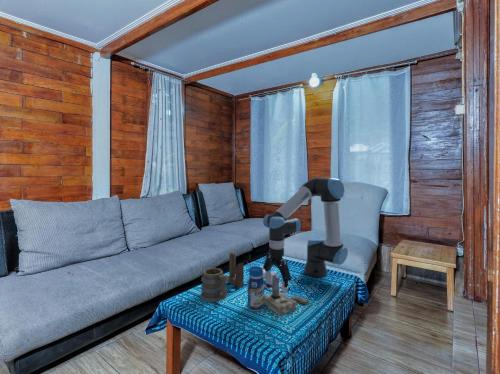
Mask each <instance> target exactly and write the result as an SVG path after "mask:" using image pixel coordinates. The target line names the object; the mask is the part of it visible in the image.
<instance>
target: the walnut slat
mask: <svg viewBox="0 0 500 374" xmlns="http://www.w3.org/2000/svg"><path fill="white" fill-rule="evenodd" d="M290 298H291V299H293V300H294V301H296V302H297V304H301V305H305V306H308V304H309V303H310V302H309V301H310V299H306V298H303V297H300V296H297V295H292V296H291V297H290Z"/></svg>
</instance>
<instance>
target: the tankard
mask: <svg viewBox="0 0 500 374" xmlns="http://www.w3.org/2000/svg"><path fill="white" fill-rule="evenodd" d="M228 276H229V275H225V274H224V271H223V270H222V269H221V268H217V267H210V268H205V269H204V270H203V272H202V276H201V282H202V285H201V292H200V295H199V298H200V299H201V300H203V301H204V302H205V303H208V302H209V303H216V302H219V301H222V300H225V299H226V297H227V293H228V289H227V286H226V285H227V284H226V283H227V282H228V281H229V278H228ZM228 283H229V282H228Z"/></svg>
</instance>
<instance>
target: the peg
mask: <svg viewBox="0 0 500 374" xmlns="http://www.w3.org/2000/svg"><path fill="white" fill-rule="evenodd" d="M277 275H278V274H277ZM277 275H274V276H272V285H271V293H272V298H273V299H278V298H279V291H280V276H279V275H278V276H277Z"/></svg>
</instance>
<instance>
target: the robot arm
mask: <svg viewBox="0 0 500 374" xmlns="http://www.w3.org/2000/svg"><path fill="white" fill-rule="evenodd" d="M344 195H345V185H344V183H343V182H342V181H341V179H339V178H334V177H315V178H311V179H309V180H308V181H306V182H305V183H303V184H301V186H300V187H299V188H298V191H296V192H295V193H294V194H293V195H292V196H291V197H290V198H288V200H287V201H285V203H283V204H282V205H281V206H280V207H279V208H278V209H277V210H275V211H274V212H273V213H272V214H266V215H265V216H264V217H263V220H262V223H263V225H264V227H266V228H268V231H269V232H268V234H269V238H268V239H269V249H268V253H266V257H265V261H264V263H263V265H262V266H263V269H264V270H265V271H266V279H265V284H268V283H271V272H272V271H271V270H272V267H273V266H275V267H277V269H278V270H279V273H280V275H281V277H282V287H281V289H282V291H281V293H283V294H287V293H288V287H289V281H292V277H291V276H292V275H291V273H290V269H289V266H288V259H284V258H283V257H284V255H285V235H290V234H293V233H294V234H295V233H296V232H299V231H301V229H302V222H301V220H300V219H299V218H297V217H292V218H289V217H290V216H292V214H293V213H295V212H296V211H297V210H298V209H299V208H300V207H301V206H302V205H303V204H304V203H305V202H307V201H308V200H311V199H312V198H313V197H314V198H315V197H320V201H321V202H322V203H323V213H324V214H323V215H324V227H325V228H324V229H325V238H324V237H322V238H321V237H314V238H309V239H308V240H307V245H306V246H307V247H306V248H307V249H306V250H307V251H306V262H305V265H304V267H303V268H304V269H303V273H304V274H305V275H307V276H310V277H316V278H319V277H320V278H321V277H325V276H327V275H328V268H327V266H326V265H327V264H326V262H328V263H331V264H334V265H338V266H340V265H343V264H344V263H345V262H346V260H347V258H348V254H349V251H348V248H347V247H346V246H344V241H343V240H342V239H341V228H340V224H341V223H340V210H339V208H340V207H339V203H340V201H341V200H342V198H343V197H344ZM268 285H269V284H268Z"/></svg>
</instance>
